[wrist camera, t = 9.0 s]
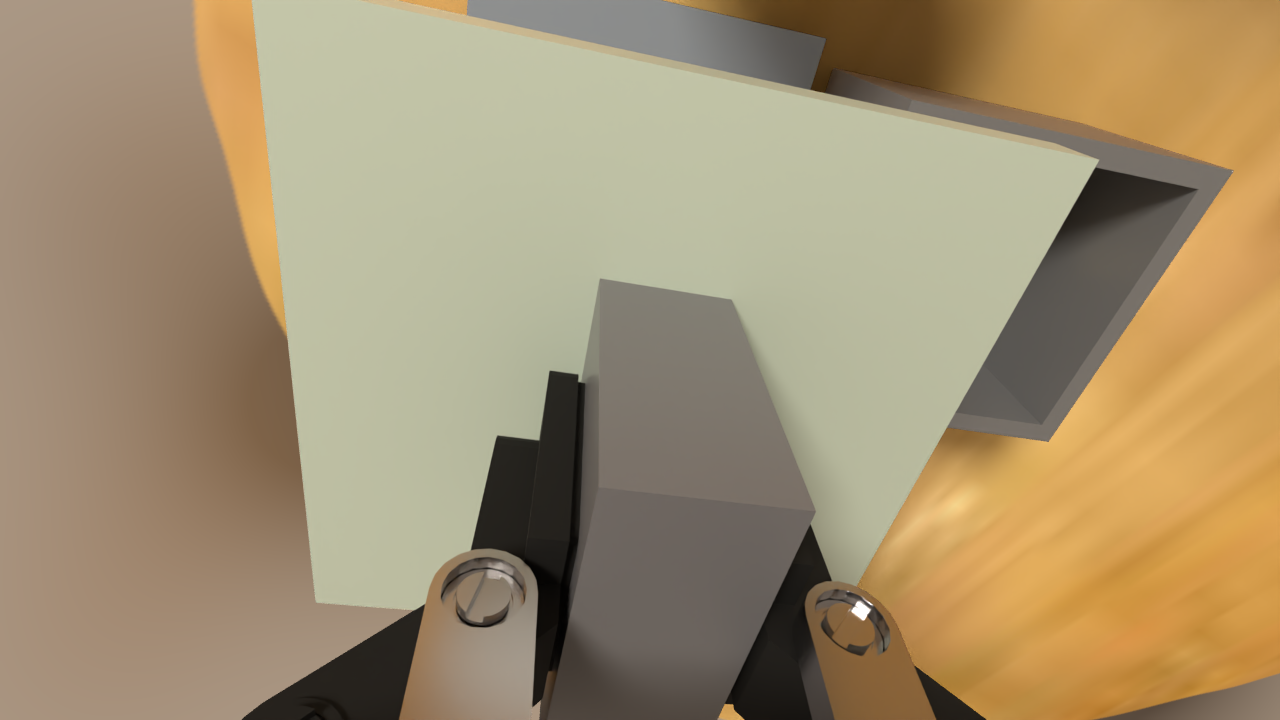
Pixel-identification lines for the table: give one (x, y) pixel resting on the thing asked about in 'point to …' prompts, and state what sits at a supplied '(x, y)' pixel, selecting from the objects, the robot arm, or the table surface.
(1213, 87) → the table surface
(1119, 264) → the parts tub
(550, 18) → the mat
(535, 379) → the lid
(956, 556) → the table surface
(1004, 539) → the table surface
